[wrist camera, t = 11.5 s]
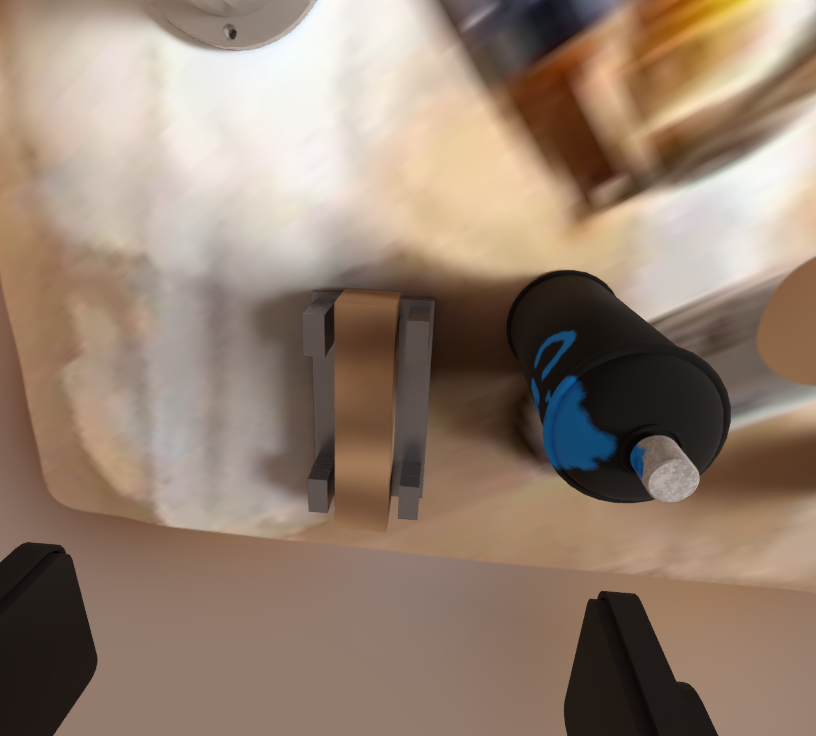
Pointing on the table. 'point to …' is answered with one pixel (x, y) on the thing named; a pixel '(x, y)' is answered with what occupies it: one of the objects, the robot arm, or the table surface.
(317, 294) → the cradle
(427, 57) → the table surface
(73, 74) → the table surface
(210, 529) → the table surface
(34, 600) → the robot arm
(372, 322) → the rail
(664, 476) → the aerosol can
